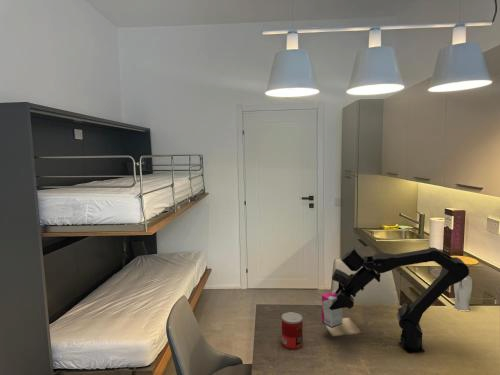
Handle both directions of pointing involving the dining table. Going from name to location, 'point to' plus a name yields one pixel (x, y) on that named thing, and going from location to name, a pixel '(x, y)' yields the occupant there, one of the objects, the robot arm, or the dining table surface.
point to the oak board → (344, 328)
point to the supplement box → (330, 311)
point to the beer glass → (463, 293)
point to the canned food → (292, 330)
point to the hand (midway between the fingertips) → (330, 304)
